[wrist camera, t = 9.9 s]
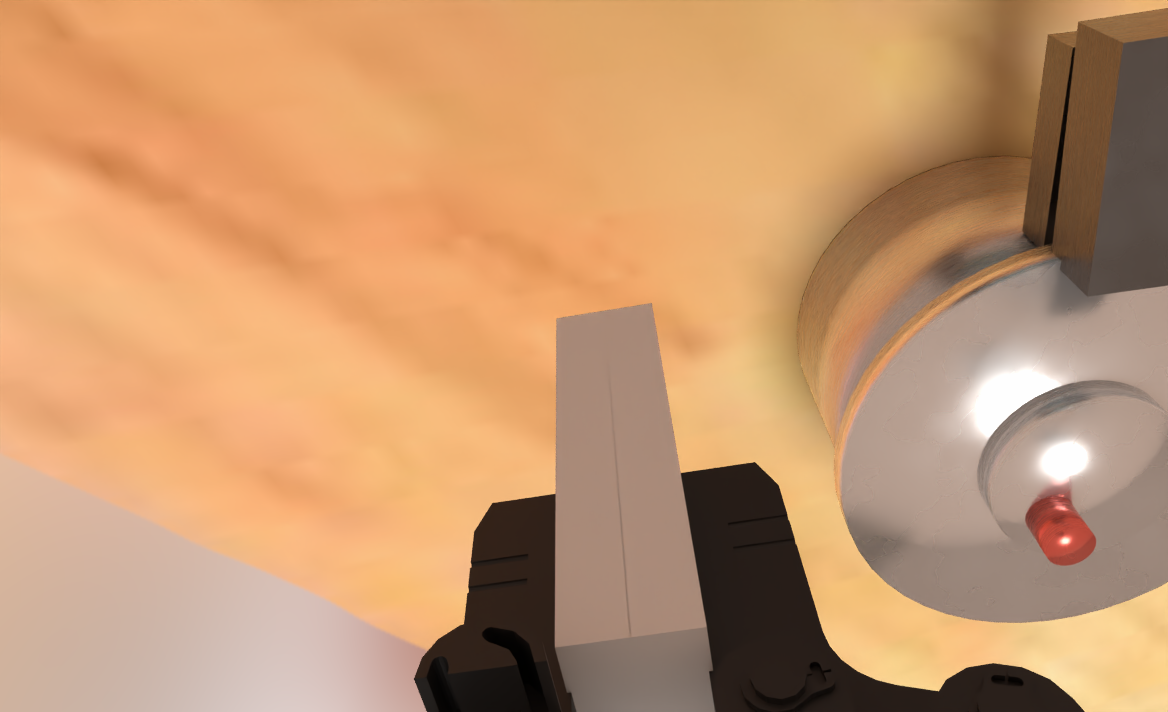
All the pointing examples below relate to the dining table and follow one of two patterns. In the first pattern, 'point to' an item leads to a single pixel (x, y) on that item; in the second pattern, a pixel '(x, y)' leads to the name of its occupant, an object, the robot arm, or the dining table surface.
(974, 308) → the lid
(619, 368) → the robot arm
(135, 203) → the dining table surface
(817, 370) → the pot
